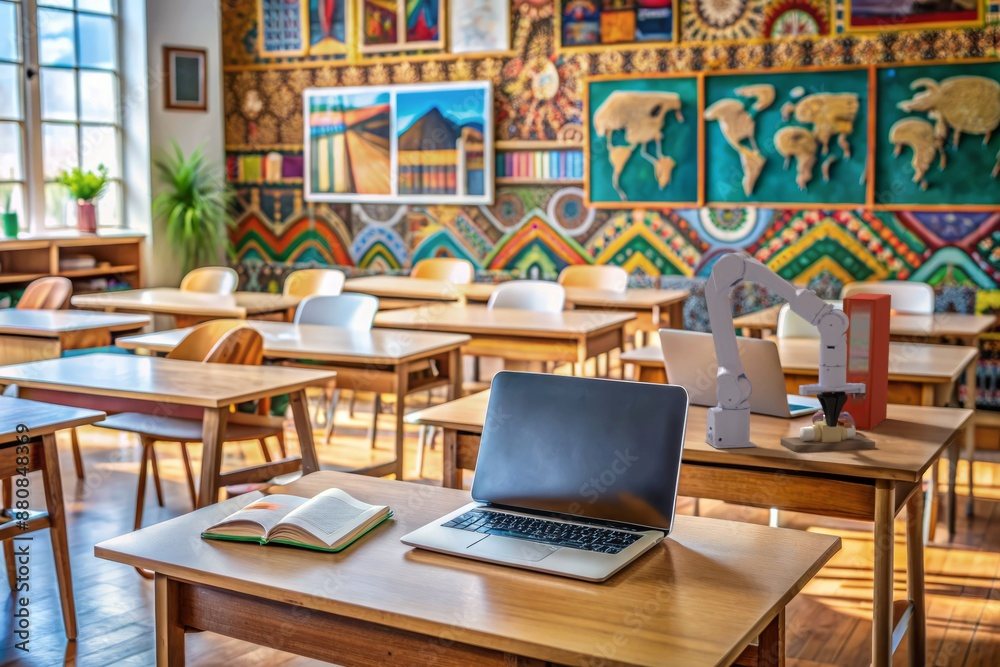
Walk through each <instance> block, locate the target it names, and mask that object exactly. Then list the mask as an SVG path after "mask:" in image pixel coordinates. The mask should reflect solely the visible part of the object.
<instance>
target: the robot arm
mask: <svg viewBox="0 0 1000 667" xmlns="http://www.w3.org/2000/svg"><path fill="white" fill-rule="evenodd" d="M710 272H711V273H710V275H709V277H708V280H707V284H706V286H705V288H704V296H705V300H706V301H705V302H706V306H707V312H708V317H709V323H710V329H711V334H712V340H713V345H714V349H715V355H716V359H717V360H716V362H717V366H718V368H717V374H716V381H717V384H716V385H717V386H716V389H715V398H716V399H717V401H718V402H717V406H714V407H709V408H708V410H707V412H706V435H705V436H706V439H705V443H708V445H710V446H712V447H713V448H715V449H735V448H753V447H754V448H755V447H757V444H755V443H754V442H752V441H750V440H751V403H750V402H749V400H748V399H749V398H750V397H751V396H752V393H753V384H752V383H751V380H750V379H749V377H748V376H747V373H746V369H745V367H744V366H743V364H742V362H741V357H740V351H739V346H738V340H737V335H736V330H735V325H734V324H735V323H734V319H733V314H732V310H731V309H732V308H731V303H730V298H729V295H730V294H731V292H732V291H733V290H734V289H735V288H736V286H737V285H738V284H739V283H740V282H742V281H743V282H744V281H745V282H755V283H756V282H757V283H760V284H761V285H762V286H764V287H766V288H767V289H768V290H770V291H771V292H773V293H775V294H777V295H778V296H780V297H782V299H784V300H786V301H788V305H789V309H790V311H791V312H793V313H794V314H796V315H798V316H799V317H800V318H802V319H803V320H804V321H805V322H807V323H808V324H810V325H812V326H813V327H815V326H816V328H817V331H818V333H819V335H820V336H819V338H820V340H819V341H820V342H819V351H818V352H819V353H818V354H819V355H818V356H819V358H818V360H819V361H818V362H819V363H818V383H812V384H801V385H799V386H798V388H799V389H798V394H799V395H801V396H808V395H809V396H810V395H811V396H812V395H816V397H817V399H818V402H819V404H820V406H821V408H822V409H821V410H822V411H824V415H825V419H826V424H827V426H829V427H836V426H837V422H838V418H839V415H840V412H841V410H842V408H843V406H844V404H845V403H846V401H847V399H848V395H845V393H865V384H862V383H846V361H847V344H846V340H847V337H846V333H844V332H845V331H846V330H847V329H848V326H849V319H848V317H847V315H846V314H845V313H844V312H843V309H840V308H835V305H834V304H833V303H827V302H826V301H824V300H823V299H822V298H820V297H819V296H818V295H816V294H817V291H815V290H814V289H810V290H809V289H807V288H800V289H797V288H796V287H794V286H793V285H792V284H791V283H789V282H788V281H787V280H786V279H784V278H783V277H782V276H781V275H779V274H778V273H776V272H775V271H773V270H772V269H771V268H769V267H768V266H767V265H765V264H764V263H763V262H761V261H759V260H758V259H756V258H755V257H751V256H750V255H749V254H747V253H746V252H743V251H735V252H733V253H731V252H727V253H724V254H722V255H721V256H720V257H719V258H718V259H717V260H716V261H715V262H714V263H713V264H712V266H711V271H710ZM843 333H844V334H843ZM842 334H843V335H842Z"/></svg>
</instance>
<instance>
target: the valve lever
mask: <svg viewBox="0 0 1000 667" xmlns="http://www.w3.org/2000/svg"><path fill="white" fill-rule="evenodd" d="M823 421H824V422H826V419H825V415H823ZM837 426H840V427H842V428H852V422H849V421H847V420H844V419H842V418H841V419H839V418H838V422H837Z"/></svg>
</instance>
